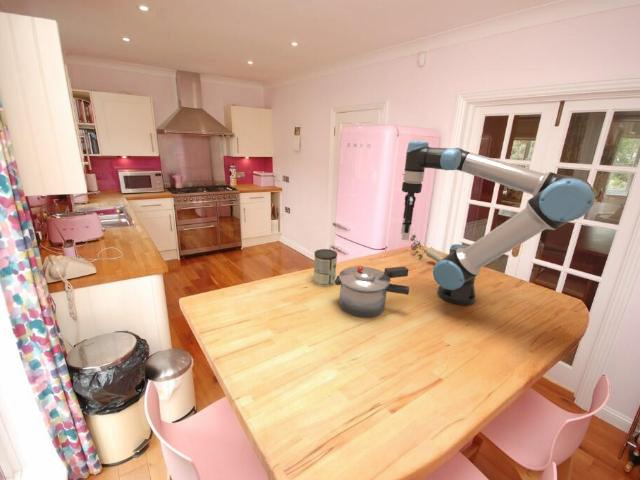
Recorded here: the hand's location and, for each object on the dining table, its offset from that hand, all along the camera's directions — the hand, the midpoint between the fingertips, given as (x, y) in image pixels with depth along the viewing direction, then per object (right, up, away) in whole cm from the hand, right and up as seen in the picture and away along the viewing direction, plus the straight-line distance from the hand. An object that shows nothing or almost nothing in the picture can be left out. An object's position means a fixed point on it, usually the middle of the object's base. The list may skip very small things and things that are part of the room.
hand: (404, 236), depth 126 cm
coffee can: (-34, -21, +13) cm, 42 cm away
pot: (-16, -28, -6) cm, 33 cm away
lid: (-14, -17, -8) cm, 24 cm away
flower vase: (+25, -14, +40) cm, 49 cm away
